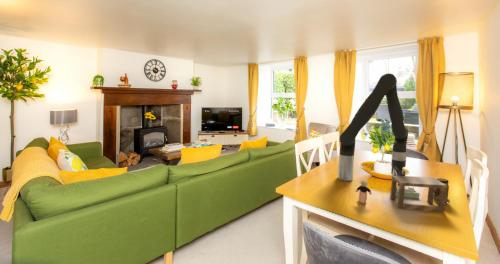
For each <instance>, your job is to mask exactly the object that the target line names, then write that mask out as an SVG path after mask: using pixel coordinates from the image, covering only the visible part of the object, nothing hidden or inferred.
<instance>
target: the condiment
mask: <svg viewBox="0 0 500 264" xmlns="http://www.w3.org/2000/svg"><path fill="white" fill-rule="evenodd" d="M436 179H437V180H439V181H440V182H442V183H444V184H445V185H447V189H446V198H445V205H450V201H451V200H450V198H449V190H450V189H449V188H450V186H449V180H448V179H445V178H442V177H441V178H436ZM439 194H440V188H434V197H433V203H438V202H439ZM447 202H448V203H449V204H448V203H447Z"/></svg>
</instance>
